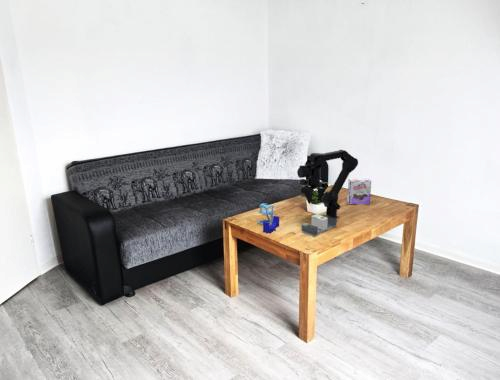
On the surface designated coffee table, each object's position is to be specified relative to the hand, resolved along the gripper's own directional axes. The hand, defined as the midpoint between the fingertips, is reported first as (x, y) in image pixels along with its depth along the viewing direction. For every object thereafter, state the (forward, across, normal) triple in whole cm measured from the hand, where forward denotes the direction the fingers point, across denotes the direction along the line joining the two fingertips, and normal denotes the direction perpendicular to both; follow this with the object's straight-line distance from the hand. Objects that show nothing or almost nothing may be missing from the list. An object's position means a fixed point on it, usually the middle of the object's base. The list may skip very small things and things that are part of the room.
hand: (314, 201), depth 235 cm
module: (+11, +8, +10) cm, 17 cm away
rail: (+12, +8, +10) cm, 18 cm away
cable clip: (+12, +26, -9) cm, 30 cm away
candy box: (+12, -46, +1) cm, 48 cm away
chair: (+12, +21, -18) cm, 30 cm away
